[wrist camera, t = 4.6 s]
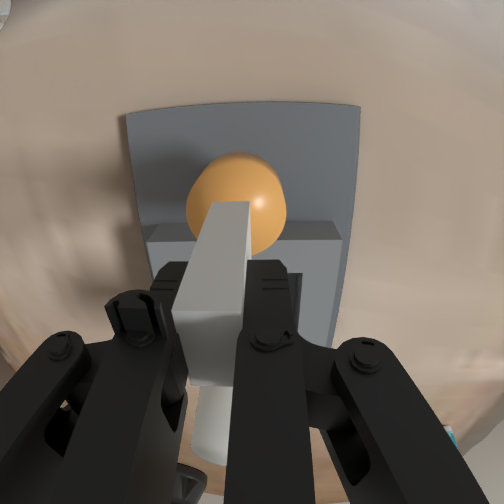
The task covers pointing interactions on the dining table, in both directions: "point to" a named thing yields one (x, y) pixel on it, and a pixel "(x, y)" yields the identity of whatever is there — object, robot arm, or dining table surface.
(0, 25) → the wineglass
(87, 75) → the dining table surface
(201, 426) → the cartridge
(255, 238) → the orange rounded knob
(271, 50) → the dining table surface
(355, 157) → the housing
